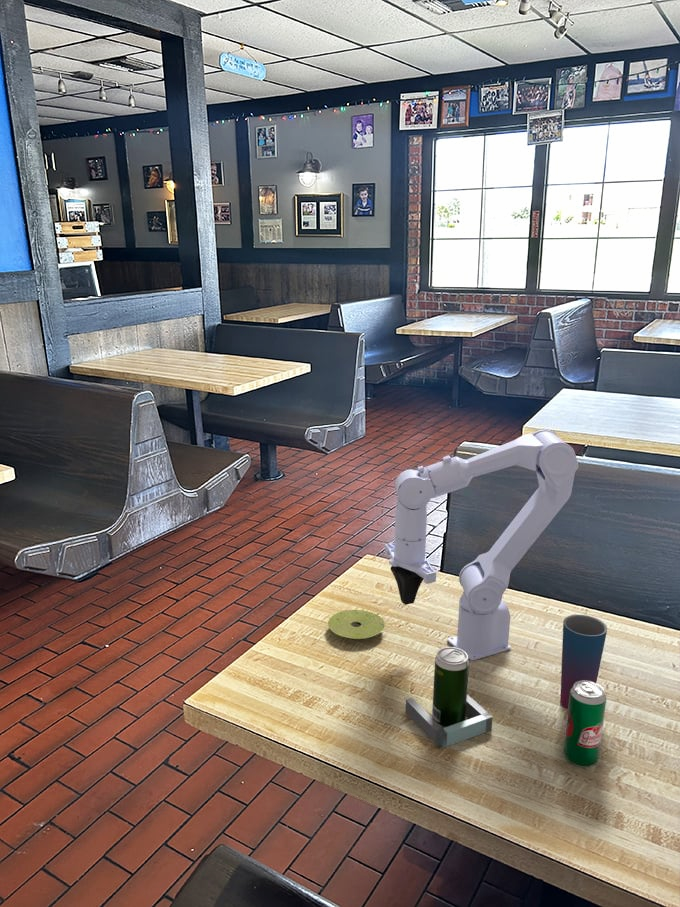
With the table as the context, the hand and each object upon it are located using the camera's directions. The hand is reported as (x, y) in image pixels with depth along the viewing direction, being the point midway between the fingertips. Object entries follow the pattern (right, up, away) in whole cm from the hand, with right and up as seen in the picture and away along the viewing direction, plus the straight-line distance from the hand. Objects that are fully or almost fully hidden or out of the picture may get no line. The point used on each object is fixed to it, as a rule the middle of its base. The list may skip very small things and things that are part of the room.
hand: (407, 602), depth 134 cm
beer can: (+5, -15, -18) cm, 24 cm away
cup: (+27, -14, -14) cm, 34 cm away
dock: (+5, -15, -19) cm, 25 cm away
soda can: (+24, -18, -27) cm, 40 cm away
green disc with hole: (-10, -8, +8) cm, 14 cm away
